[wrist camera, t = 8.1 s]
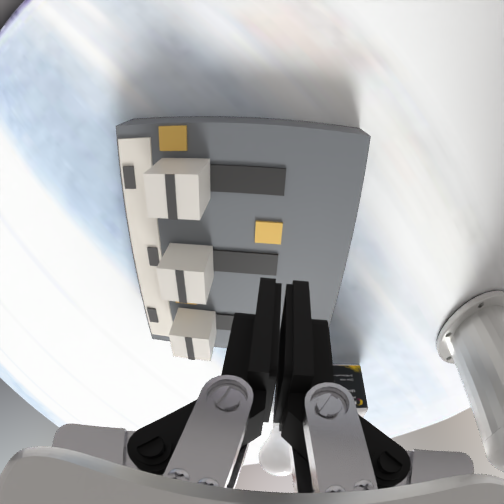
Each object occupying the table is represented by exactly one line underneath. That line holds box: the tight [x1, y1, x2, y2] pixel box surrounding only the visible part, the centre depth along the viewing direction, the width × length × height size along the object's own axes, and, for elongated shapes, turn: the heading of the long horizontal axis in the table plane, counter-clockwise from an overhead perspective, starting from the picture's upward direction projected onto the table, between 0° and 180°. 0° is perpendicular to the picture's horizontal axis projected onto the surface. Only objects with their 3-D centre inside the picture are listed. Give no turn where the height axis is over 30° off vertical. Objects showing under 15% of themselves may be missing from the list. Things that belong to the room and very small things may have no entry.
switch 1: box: [143, 158, 211, 220], centre depth 20 cm, size 4×3×4 cm
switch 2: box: [156, 243, 214, 305], centre depth 24 cm, size 4×3×4 cm
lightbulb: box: [259, 415, 292, 476], centre depth 39 cm, size 6×6×11 cm
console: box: [116, 116, 371, 348], centre depth 27 cm, size 18×22×3 cm
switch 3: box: [169, 308, 217, 361], centre depth 28 cm, size 4×3×4 cm
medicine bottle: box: [333, 364, 368, 417], centre depth 33 cm, size 7×7×12 cm
